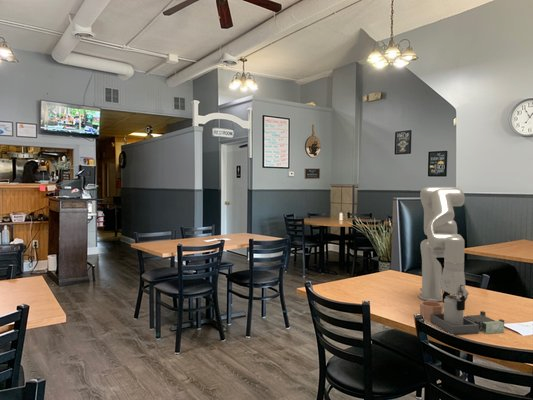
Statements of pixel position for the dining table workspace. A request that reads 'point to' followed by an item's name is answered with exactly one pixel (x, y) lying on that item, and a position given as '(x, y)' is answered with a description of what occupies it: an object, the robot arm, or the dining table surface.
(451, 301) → the gray cylinder
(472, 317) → the cradle plate
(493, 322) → the cradle base
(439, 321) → the dark grey tray
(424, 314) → the cup
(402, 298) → the dining table surface
